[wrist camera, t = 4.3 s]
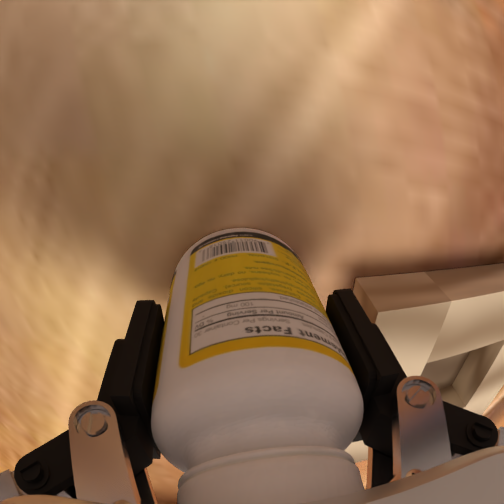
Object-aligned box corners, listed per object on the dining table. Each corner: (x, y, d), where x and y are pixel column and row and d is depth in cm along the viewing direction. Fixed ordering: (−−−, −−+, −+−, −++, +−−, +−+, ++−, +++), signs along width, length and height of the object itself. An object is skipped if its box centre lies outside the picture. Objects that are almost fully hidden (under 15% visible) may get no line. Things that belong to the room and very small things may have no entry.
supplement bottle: (244, 351, 15) (269, 556, 6) (148, 290, 13) (96, 529, 4) (330, 277, 14) (436, 493, 5) (234, 194, 11) (281, 478, 3)
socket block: (355, 277, 14) (378, 312, 11) (535, 259, 15) (558, 278, 13) (315, 441, 20) (323, 469, 18) (465, 400, 21) (477, 420, 19)
